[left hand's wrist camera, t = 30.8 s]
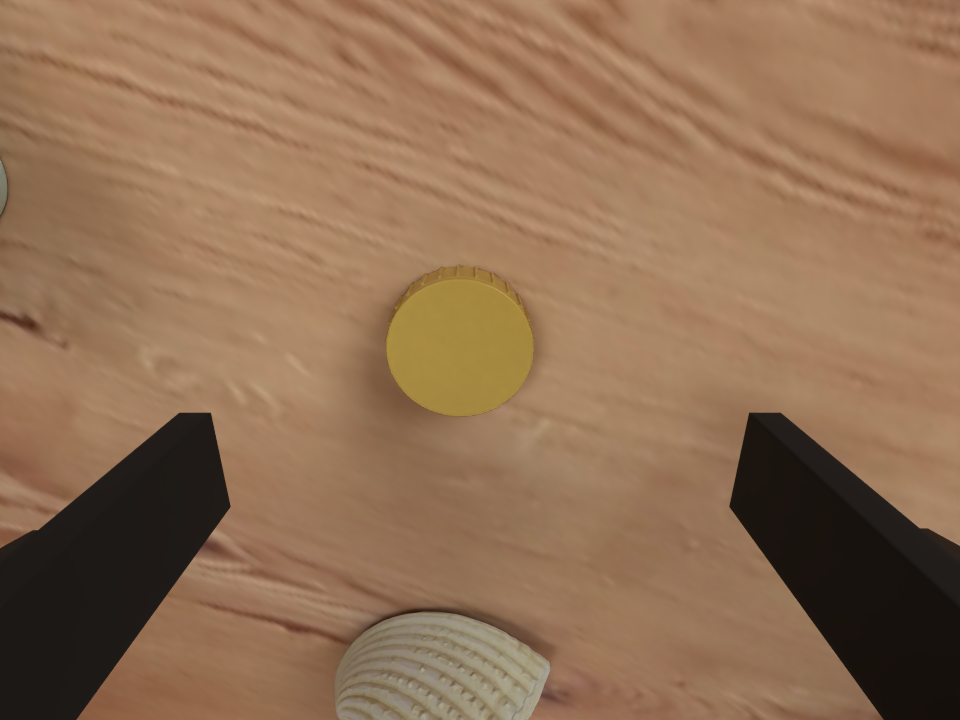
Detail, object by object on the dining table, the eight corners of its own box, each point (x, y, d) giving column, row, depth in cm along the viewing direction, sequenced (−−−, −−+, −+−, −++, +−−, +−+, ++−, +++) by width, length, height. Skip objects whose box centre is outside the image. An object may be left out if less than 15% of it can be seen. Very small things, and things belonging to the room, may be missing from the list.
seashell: (277, 664, 22) (411, 707, 17) (413, 571, 29) (536, 584, 24) (318, 849, 22) (464, 944, 17) (444, 713, 29) (573, 753, 24)
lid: (414, 243, 18) (408, 255, 16) (551, 292, 18) (560, 307, 17) (375, 370, 19) (365, 393, 18) (500, 410, 20) (504, 435, 18)
